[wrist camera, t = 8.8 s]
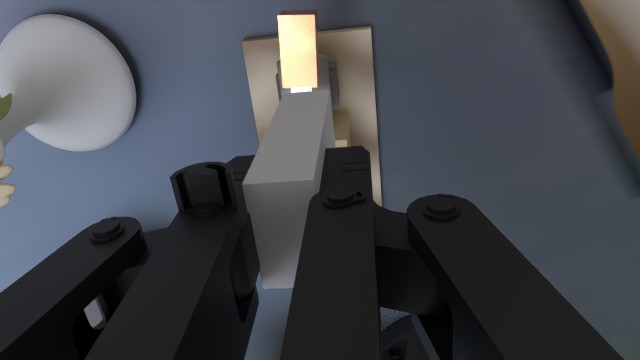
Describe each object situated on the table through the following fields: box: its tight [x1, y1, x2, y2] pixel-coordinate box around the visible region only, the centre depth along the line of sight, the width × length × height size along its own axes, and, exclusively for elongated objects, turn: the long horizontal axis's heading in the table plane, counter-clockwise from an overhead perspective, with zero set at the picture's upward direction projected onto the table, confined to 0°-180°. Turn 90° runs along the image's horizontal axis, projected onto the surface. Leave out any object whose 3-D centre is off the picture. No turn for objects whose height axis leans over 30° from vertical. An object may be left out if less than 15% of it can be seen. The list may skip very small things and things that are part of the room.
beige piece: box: [242, 26, 382, 207], centre depth 38 cm, size 18×10×10 cm, turn 6°
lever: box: [278, 10, 319, 93], centre depth 30 cm, size 14×3×2 cm, turn 2°
